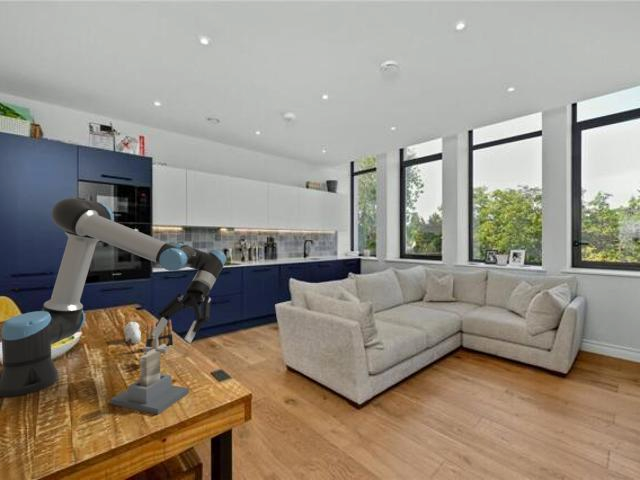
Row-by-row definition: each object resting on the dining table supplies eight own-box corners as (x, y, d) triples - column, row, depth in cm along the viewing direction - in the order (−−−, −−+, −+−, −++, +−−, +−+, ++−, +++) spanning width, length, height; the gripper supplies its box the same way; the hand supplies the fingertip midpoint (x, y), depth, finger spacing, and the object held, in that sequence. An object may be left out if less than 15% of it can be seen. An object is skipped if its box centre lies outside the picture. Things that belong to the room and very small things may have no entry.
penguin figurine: (138, 319, 149) (145, 327, 140) (138, 336, 149) (144, 344, 141) (123, 321, 144) (129, 330, 136) (123, 339, 145) (129, 348, 136)
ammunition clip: (146, 351, 130) (146, 323, 130) (145, 350, 131) (145, 322, 131) (172, 345, 137) (172, 318, 137) (171, 344, 139) (171, 318, 139)
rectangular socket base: (110, 403, 90) (109, 385, 90) (144, 384, 101) (144, 368, 101) (158, 414, 84) (157, 394, 84) (189, 392, 96) (188, 375, 96)
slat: (140, 396, 91) (139, 357, 90) (154, 388, 95) (153, 351, 95) (147, 398, 90) (146, 358, 90) (160, 389, 95) (160, 351, 94)
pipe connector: (157, 369, 112) (157, 342, 112) (134, 367, 114) (134, 341, 114) (175, 358, 122) (175, 334, 122) (154, 356, 124) (153, 332, 124)
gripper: (234, 293, 112) (207, 348, 98) (179, 289, 120) (148, 340, 106) (225, 281, 107) (196, 337, 93) (169, 278, 114) (134, 329, 100)
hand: (170, 338), depth 99 cm, fingers open, 13 cm apart
